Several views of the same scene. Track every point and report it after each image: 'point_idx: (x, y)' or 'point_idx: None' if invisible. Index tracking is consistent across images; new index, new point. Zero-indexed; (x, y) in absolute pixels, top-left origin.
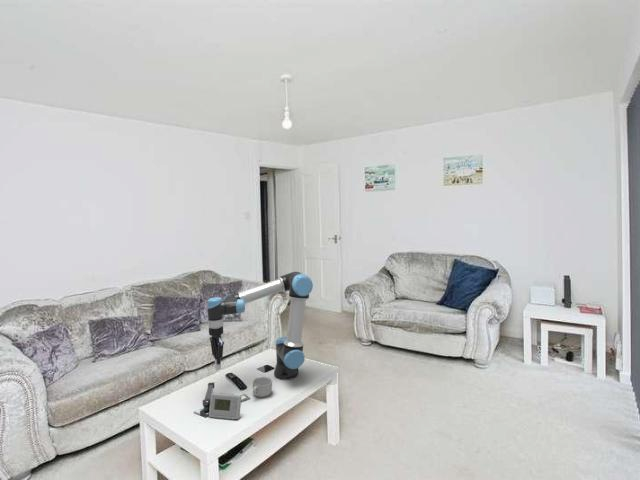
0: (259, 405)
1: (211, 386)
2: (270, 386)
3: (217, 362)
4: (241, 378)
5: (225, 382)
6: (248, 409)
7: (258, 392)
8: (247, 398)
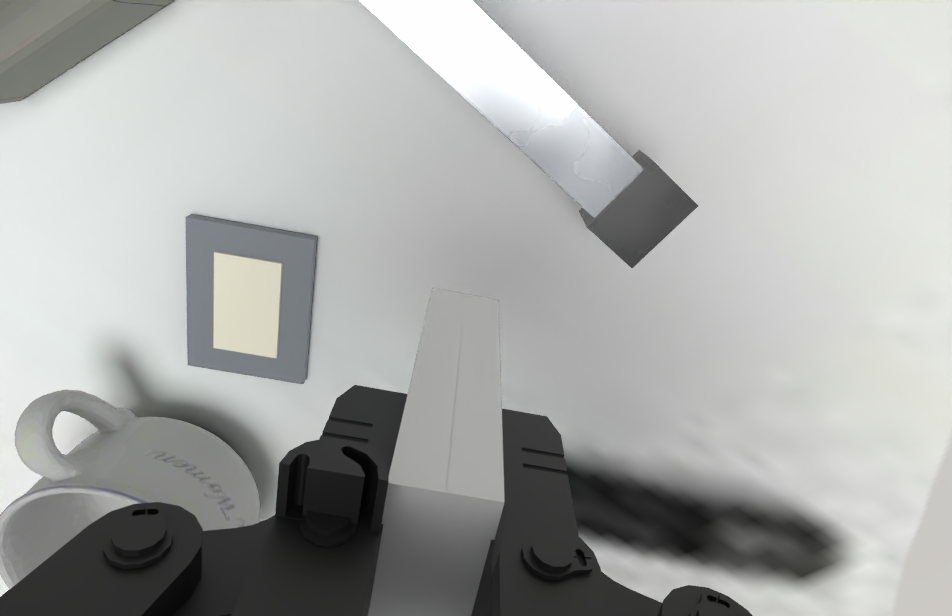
0: (14, 328)
1: (563, 164)
2: (35, 558)
3: (369, 426)
4: (621, 557)
5: (703, 434)
6: (9, 216)
7: (90, 439)
8: (196, 341)
